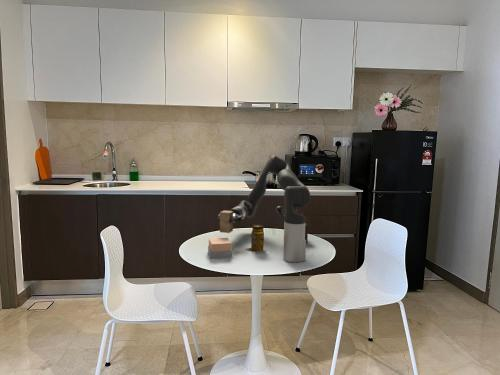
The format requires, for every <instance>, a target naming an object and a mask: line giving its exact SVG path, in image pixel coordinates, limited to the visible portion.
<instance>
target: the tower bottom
mask: <svg viewBox="0 0 500 375" xmlns="http://www.w3.org/2000/svg"><path fill="white" fill-rule="evenodd" d="M207 253H208V257H209V259H211V260H212V259H227V258H233V250H232V251H217V252H212V251H211V249H210V247H209V244H208V246H207Z"/></svg>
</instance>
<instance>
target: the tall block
mask: <svg viewBox="0 0 500 375" xmlns="http://www.w3.org/2000/svg"><path fill="white" fill-rule="evenodd" d="M219 214H220V222H219V233H222V234H223V233H227V234H230V233H231V232H233V231H234V223H233V222H232V223H229V219H230V218H232V217H233V211H229V210H222V211H220V212H219Z"/></svg>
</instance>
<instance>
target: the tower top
mask: <svg viewBox="0 0 500 375" xmlns="http://www.w3.org/2000/svg"><path fill="white" fill-rule="evenodd" d="M208 245H209V247H210V249H211V251H212V252H217V251H232V252H233V249H232V247H233V246H232V245H233V244H232V241H231V240H230V239H229V238H228V237H219V238H217V237H216V238H208Z"/></svg>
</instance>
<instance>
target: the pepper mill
mask: <svg viewBox="0 0 500 375" xmlns="http://www.w3.org/2000/svg"><path fill="white" fill-rule="evenodd" d="M283 209H284V208H283V206H282V205H278V206H276V208H275V211H276V212H277V215H278V216H280V217H283V218H285V215H283V214H284V212H283ZM295 212H296V213H298V212H299V211H298V209H296V210H295ZM308 235H309V225H308V224H307V223H305V240H306V244H307V243H308V237H309V236H308Z"/></svg>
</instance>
